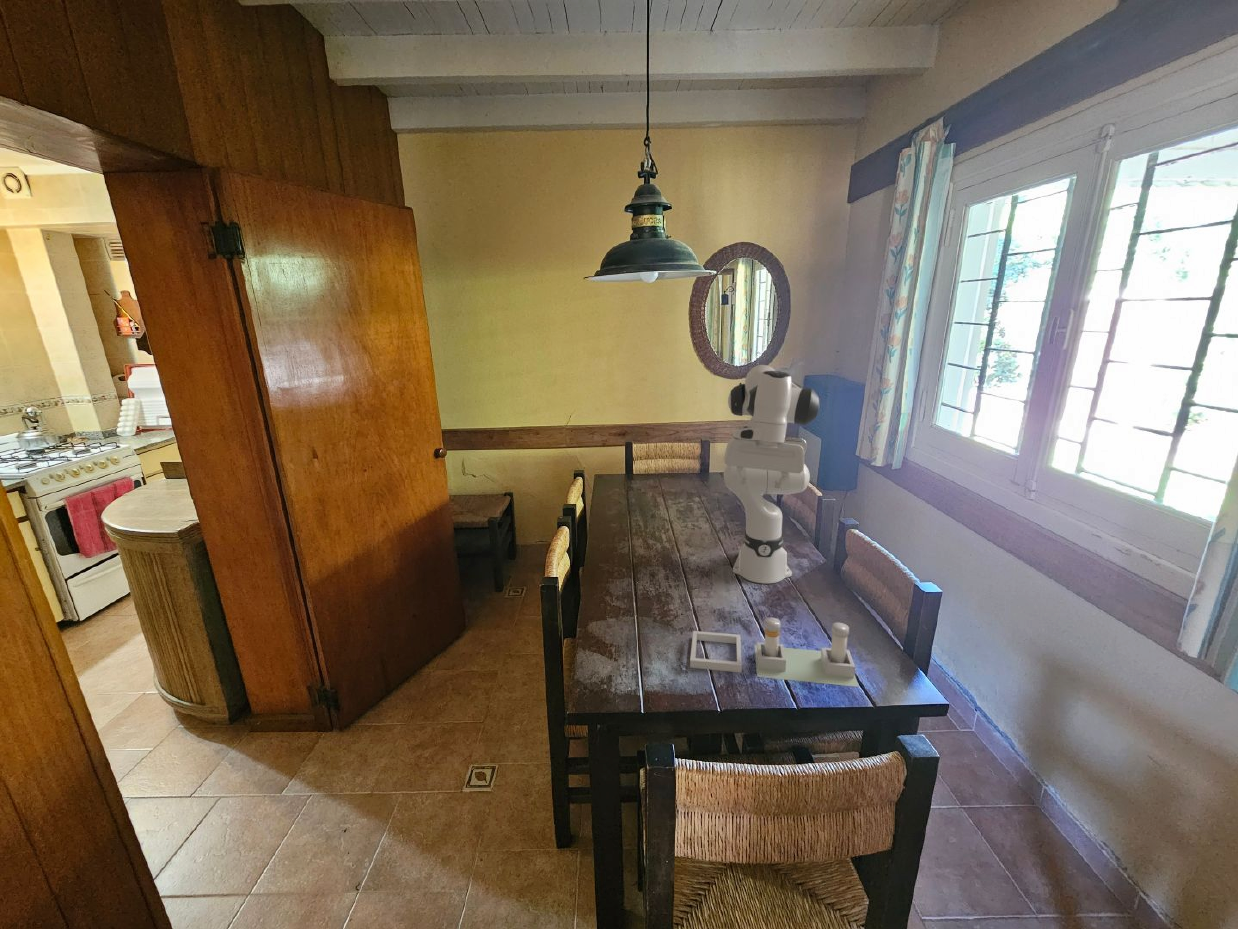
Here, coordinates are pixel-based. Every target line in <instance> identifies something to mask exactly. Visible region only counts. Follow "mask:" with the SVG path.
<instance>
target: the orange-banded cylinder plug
mask: <svg viewBox="0 0 1238 929" xmlns="http://www.w3.org/2000/svg"><path fill="white" fill-rule="evenodd" d="M781 626H782V624H781V620H780V619H778V618H776V617H767V618H765V619H764V643H765V646H764V654H763V656H766V657H778V658H779V656H778V647H779V644H780V643H779V642H780V631H781Z"/></svg>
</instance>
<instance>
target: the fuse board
mask: <svg viewBox="0 0 1238 929" xmlns="http://www.w3.org/2000/svg"><path fill="white" fill-rule="evenodd" d="M764 646H765V642H762V641H761V642H760V641H757V642H756V644H754V646H753V647H754V656H755V667H756V668H755V669H756V677H757V678H765V679H775V680H783V681H794V682H803V683H815V684H824V685H835V686H843V687H844V686H845V687H846V686H847V687H856V688H860V686H859V683H858V680H857V676H856V674H855V673H856V672H855V671H856V665H855V662H854V660H853V659H854V658H853V657H852V654H851V651H850V649H846V657H845V663H846V664H844V663H833V662H829V659H830V655H831V647H823V646H822V647H821V650H815V649H804V648H803V649H802V648H792V647H791V648H790V647H785V645H784V644H783V643H779V647H778V656H779V658H778V657H766V656H763V654H764Z"/></svg>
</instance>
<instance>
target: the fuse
mask: <svg viewBox="0 0 1238 929" xmlns="http://www.w3.org/2000/svg"><path fill="white" fill-rule="evenodd" d="M849 633H850V627H849V626H848V625H847V624H845V623H842V622H834V623H832V624H831V635H832V636H831V645H830V648H831V655H830V659H829V662H833V663H844V664H846V663H845V657H846V650H847V644H848V637H849V635H850V634H849Z"/></svg>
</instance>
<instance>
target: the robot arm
mask: <svg viewBox="0 0 1238 929" xmlns="http://www.w3.org/2000/svg"><path fill="white" fill-rule="evenodd" d="M727 398H728V399H727V404H728V405H727V406H728V407H729V410H730V413H732V414H733V415H734V416H739V417H743V416H750V417H751V418H750V419H749V421H748V422H747V426H741V427H736V428H734V429H732V438H730V439H729V440H728V442H727V445H726V448H725V452H724V456H723V463H725V465H726V466H725V468H724V471H723V481H724V482H723V483H724V485H725V486H726V488H727V489H728V490H729V491H730V492H732V493H733V494H734V495H736V496H737V498H738V499H739V500H740V502H741V503H742V505H743V507H744V508H743V509H744V512H745V531H744V535H743V545H742V546H738V547H737V553H738V556H737V557H736V560H735V562H734V565H733V567H732V572H733V574H736V575H740V576H741V577H742V578H744V579H746V580H748V581H750V582H752V583H753V582H754V583H757V584H775V583H776V584H777V583H779V582H781V581H783V580H784V579H785V578H789V577H792V576H793V571H792V570H791V569H790V567H789V566H788V560H787V559H788V553H787V551H786V548H783V543H784V535H783V533H782V530H783V513H782V510H781V509H780V508H779V507H778V505H775V504H774V503H772V502H770V501H768V500H766V499H765V498H764V497H763V496H764V495H793V494H799V493H803V492H804V491H805V490H806V489H807V488H808V485H809V484H810V481H811V474H810V471H809V467H807V464H805V454H806V452H807V450H808V449H807V447H808V444H807V442H806V440H805V439H803V438H802V437H798V436H797V437H794V436H788V435H786V434H787V428H788V423H789V424H794V425H798V426H799V425H800V426H804V427H805V426H807V425H808V424H810V423H811V422H813V421H814V420H815V419H816V418H817V416H818V414H819V410H820V398H819V395H818V394H817V392H816V391H815V390H814V389H812V388H811V387H809V388H808V387H802V386H801V385H800V384H798V383H796V382H795V381H792V375H791V374H789V373H787V372H784V371H783V372H782V371H777V370H775V368H773V367H771V366H770V365H766V364H759V365H756V366H754V367H752V368H751V369H750V370H749V371H748V372H747V374H746V376H745V379H744V383H742V382H740V383H739V384H738V385H736V386H734V387H733V388H732V389H731V390H730V392H729V394H728V397H727Z"/></svg>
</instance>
